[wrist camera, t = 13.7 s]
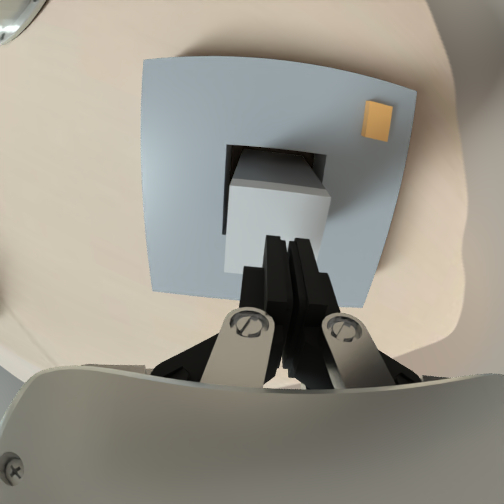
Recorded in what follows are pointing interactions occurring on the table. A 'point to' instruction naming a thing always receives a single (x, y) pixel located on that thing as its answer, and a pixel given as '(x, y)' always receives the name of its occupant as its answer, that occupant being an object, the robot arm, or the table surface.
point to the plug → (272, 206)
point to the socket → (271, 136)
